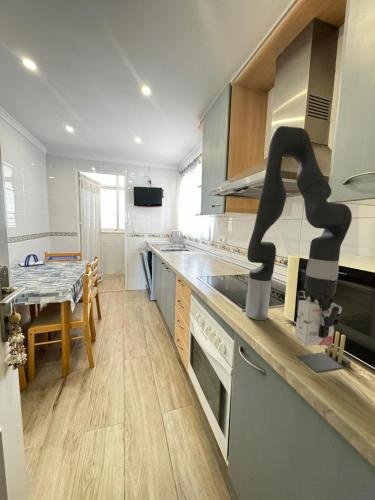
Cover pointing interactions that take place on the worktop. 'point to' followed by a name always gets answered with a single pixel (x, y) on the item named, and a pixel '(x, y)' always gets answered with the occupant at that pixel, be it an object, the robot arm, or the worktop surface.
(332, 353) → the pin header
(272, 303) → the worktop surface
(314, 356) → the rubber pad
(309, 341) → the ink box
